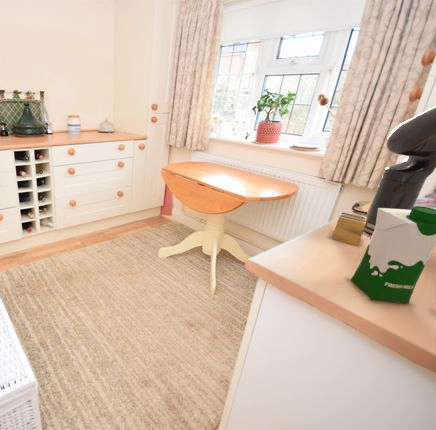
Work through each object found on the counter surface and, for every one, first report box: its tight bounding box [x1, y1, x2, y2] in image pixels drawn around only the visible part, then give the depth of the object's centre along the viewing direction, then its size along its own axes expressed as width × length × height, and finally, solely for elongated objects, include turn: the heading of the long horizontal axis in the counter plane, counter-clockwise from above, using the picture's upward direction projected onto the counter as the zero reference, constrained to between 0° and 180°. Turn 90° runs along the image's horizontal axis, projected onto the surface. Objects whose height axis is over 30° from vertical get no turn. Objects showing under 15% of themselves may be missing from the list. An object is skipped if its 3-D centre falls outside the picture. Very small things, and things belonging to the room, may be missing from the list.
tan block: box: [331, 211, 368, 247], centre depth 85 cm, size 6×6×7 cm
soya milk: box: [350, 205, 436, 304], centre depth 59 cm, size 9×9×20 cm
